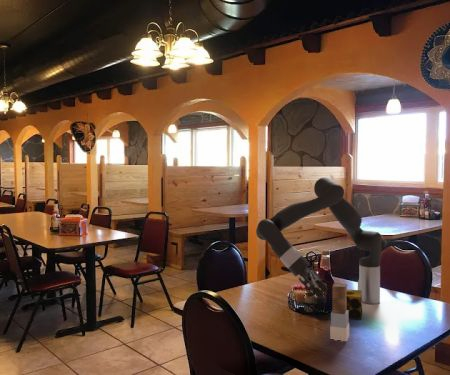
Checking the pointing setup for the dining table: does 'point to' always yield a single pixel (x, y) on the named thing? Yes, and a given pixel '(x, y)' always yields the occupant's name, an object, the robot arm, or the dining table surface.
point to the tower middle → (340, 319)
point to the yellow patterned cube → (354, 304)
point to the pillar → (339, 298)
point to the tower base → (339, 333)
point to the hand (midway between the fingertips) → (324, 293)
